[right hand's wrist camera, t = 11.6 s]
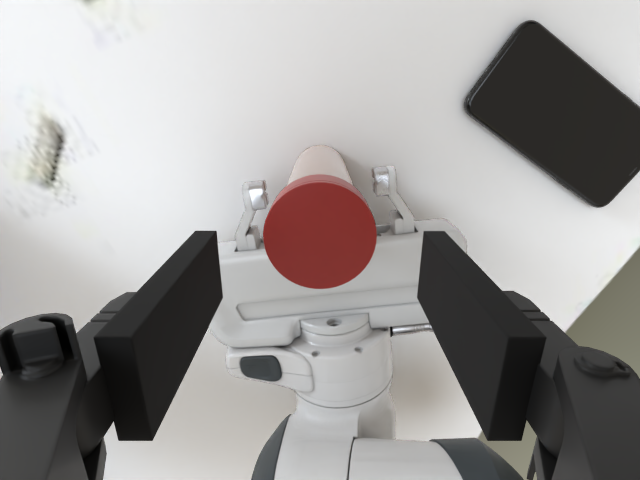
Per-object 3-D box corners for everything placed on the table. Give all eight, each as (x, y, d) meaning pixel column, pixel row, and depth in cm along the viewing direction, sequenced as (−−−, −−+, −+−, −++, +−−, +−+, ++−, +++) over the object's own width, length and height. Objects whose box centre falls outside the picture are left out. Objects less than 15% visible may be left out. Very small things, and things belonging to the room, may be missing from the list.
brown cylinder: (334, 203, 34) (347, 291, 18) (287, 186, 33) (258, 262, 18) (353, 156, 32) (385, 207, 17) (304, 137, 32) (288, 172, 16)
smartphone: (456, 107, 31) (595, 210, 34) (460, 107, 30) (602, 213, 33) (524, 14, 28) (666, 133, 31) (530, 12, 28) (676, 134, 31)
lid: (348, 284, 20) (351, 302, 18) (255, 253, 19) (249, 269, 17) (387, 195, 18) (395, 205, 16) (287, 158, 17) (283, 165, 16)
